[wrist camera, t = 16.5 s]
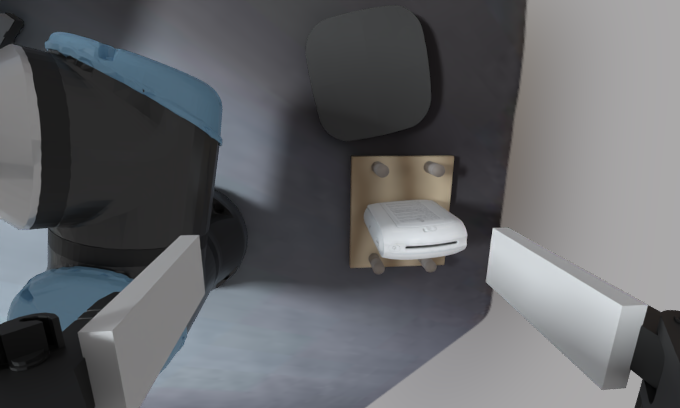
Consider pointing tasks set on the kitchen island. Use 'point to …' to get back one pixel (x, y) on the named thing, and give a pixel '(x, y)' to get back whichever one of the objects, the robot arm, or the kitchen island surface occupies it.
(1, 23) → the figurine
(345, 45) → the media streaming box
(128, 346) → the robot arm
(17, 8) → the kitchen island surface
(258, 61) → the kitchen island surface
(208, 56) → the kitchen island surface
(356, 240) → the peg board
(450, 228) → the photo printer
